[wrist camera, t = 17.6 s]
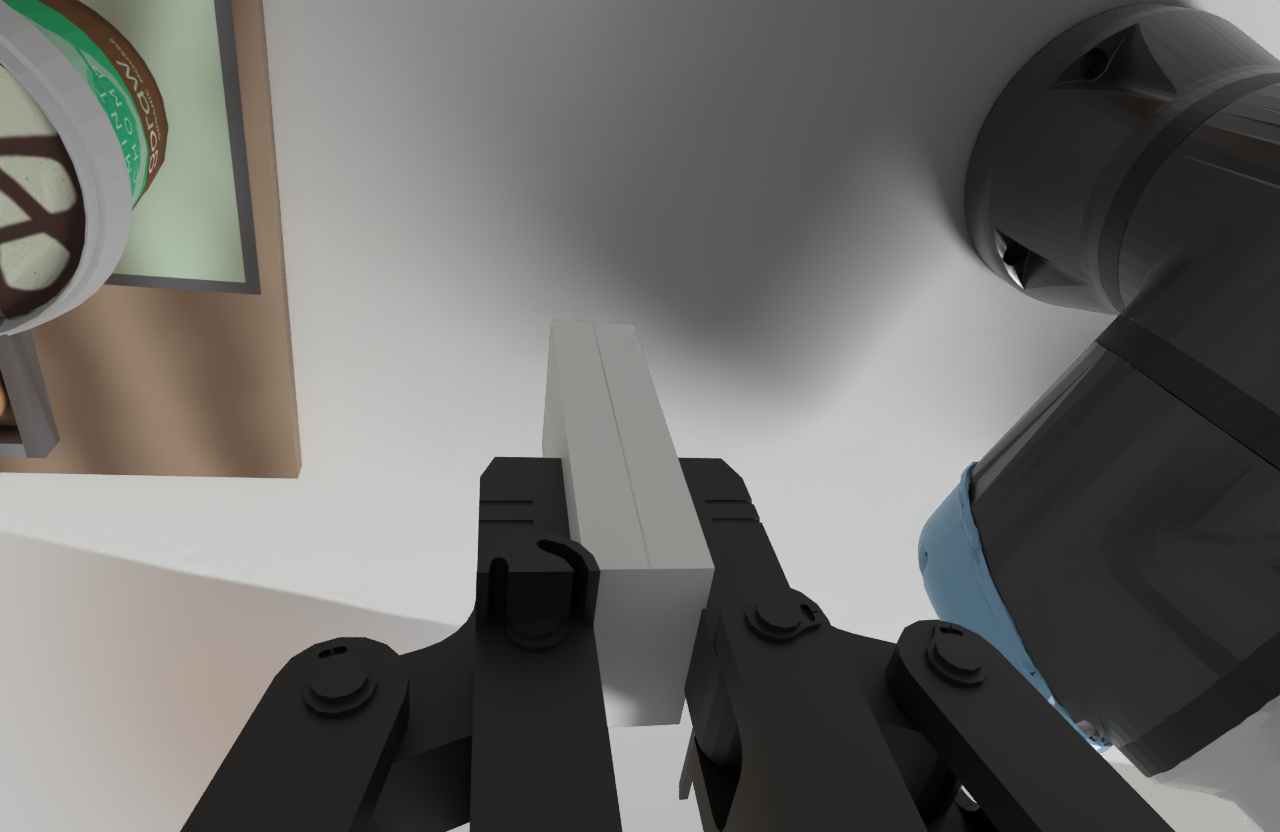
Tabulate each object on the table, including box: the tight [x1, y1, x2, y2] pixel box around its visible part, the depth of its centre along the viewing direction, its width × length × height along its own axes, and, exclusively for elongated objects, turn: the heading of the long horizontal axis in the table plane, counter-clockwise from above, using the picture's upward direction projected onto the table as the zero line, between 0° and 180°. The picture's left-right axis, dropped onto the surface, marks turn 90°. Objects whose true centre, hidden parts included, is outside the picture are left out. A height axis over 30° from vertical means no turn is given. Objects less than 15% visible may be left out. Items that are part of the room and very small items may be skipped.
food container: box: [0, 0, 169, 336], centre depth 28 cm, size 12×6×10 cm, turn 10°
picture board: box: [0, 0, 302, 478], centre depth 34 cm, size 19×29×3 cm, turn 171°
